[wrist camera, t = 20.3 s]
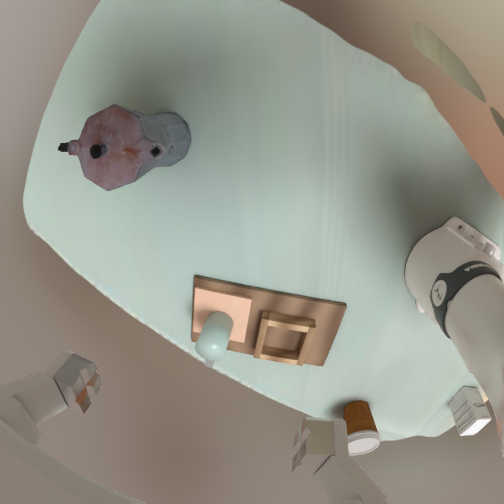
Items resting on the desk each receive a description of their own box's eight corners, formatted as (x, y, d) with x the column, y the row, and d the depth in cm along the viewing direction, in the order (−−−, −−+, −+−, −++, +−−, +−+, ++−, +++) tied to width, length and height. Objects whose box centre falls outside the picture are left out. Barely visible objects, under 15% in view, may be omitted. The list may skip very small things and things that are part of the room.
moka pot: (207, 171, 43) (148, 201, 25) (123, 168, 44) (40, 195, 26) (212, 111, 39) (151, 97, 21) (124, 114, 41) (38, 115, 22)
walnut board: (346, 303, 49) (348, 314, 46) (322, 362, 55) (323, 374, 52) (195, 275, 50) (189, 284, 47) (192, 338, 57) (187, 349, 53)
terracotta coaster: (252, 297, 49) (251, 299, 49) (244, 340, 54) (244, 342, 53) (196, 285, 50) (195, 287, 49) (194, 329, 54) (193, 331, 53)
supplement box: (477, 386, 54) (492, 418, 43) (461, 403, 57) (474, 435, 46) (463, 385, 54) (478, 419, 43) (446, 402, 57) (459, 436, 46)
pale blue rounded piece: (229, 346, 54) (221, 374, 47) (204, 340, 54) (193, 367, 47) (235, 315, 50) (226, 343, 44) (208, 308, 51) (196, 335, 44)
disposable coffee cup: (381, 398, 58) (389, 437, 47) (363, 419, 62) (368, 456, 51) (347, 394, 58) (352, 435, 47) (331, 416, 62) (333, 455, 51)
